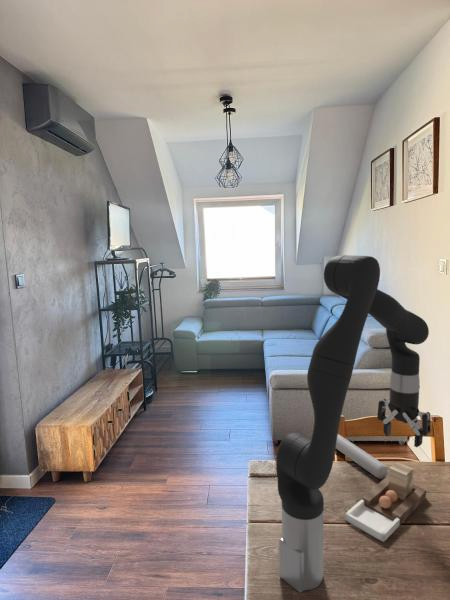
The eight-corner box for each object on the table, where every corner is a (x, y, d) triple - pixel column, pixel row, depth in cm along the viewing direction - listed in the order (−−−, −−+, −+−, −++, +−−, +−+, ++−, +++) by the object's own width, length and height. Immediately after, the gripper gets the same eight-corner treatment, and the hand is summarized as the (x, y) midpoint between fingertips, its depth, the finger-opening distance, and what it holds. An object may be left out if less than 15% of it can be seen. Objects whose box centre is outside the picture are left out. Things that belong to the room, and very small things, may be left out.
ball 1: (387, 512, 110) (388, 502, 109) (376, 507, 112) (377, 496, 112) (393, 507, 112) (393, 496, 111) (382, 501, 114) (382, 491, 114)
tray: (383, 542, 101) (383, 535, 100) (345, 520, 109) (345, 513, 109) (399, 525, 106) (399, 518, 106) (361, 505, 114) (361, 499, 114)
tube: (393, 466, 126) (340, 431, 148) (382, 465, 124) (329, 430, 146) (389, 482, 126) (336, 445, 149) (377, 482, 124) (325, 444, 146)
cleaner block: (404, 500, 114) (406, 475, 113) (388, 492, 118) (389, 467, 117) (412, 493, 117) (413, 468, 116) (395, 486, 121) (396, 461, 120)
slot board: (399, 525, 106) (400, 516, 106) (362, 505, 115) (362, 497, 114) (425, 498, 117) (426, 490, 116) (389, 481, 125) (389, 474, 125)
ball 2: (394, 506, 112) (394, 496, 112) (383, 501, 115) (383, 491, 114) (399, 501, 114) (399, 491, 114) (388, 496, 117) (389, 486, 116)
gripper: (373, 383, 115) (372, 436, 118) (424, 398, 105) (421, 455, 107) (386, 377, 120) (385, 427, 123) (436, 390, 110) (433, 444, 112)
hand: (402, 440), depth 115 cm, fingers open, 8 cm apart
